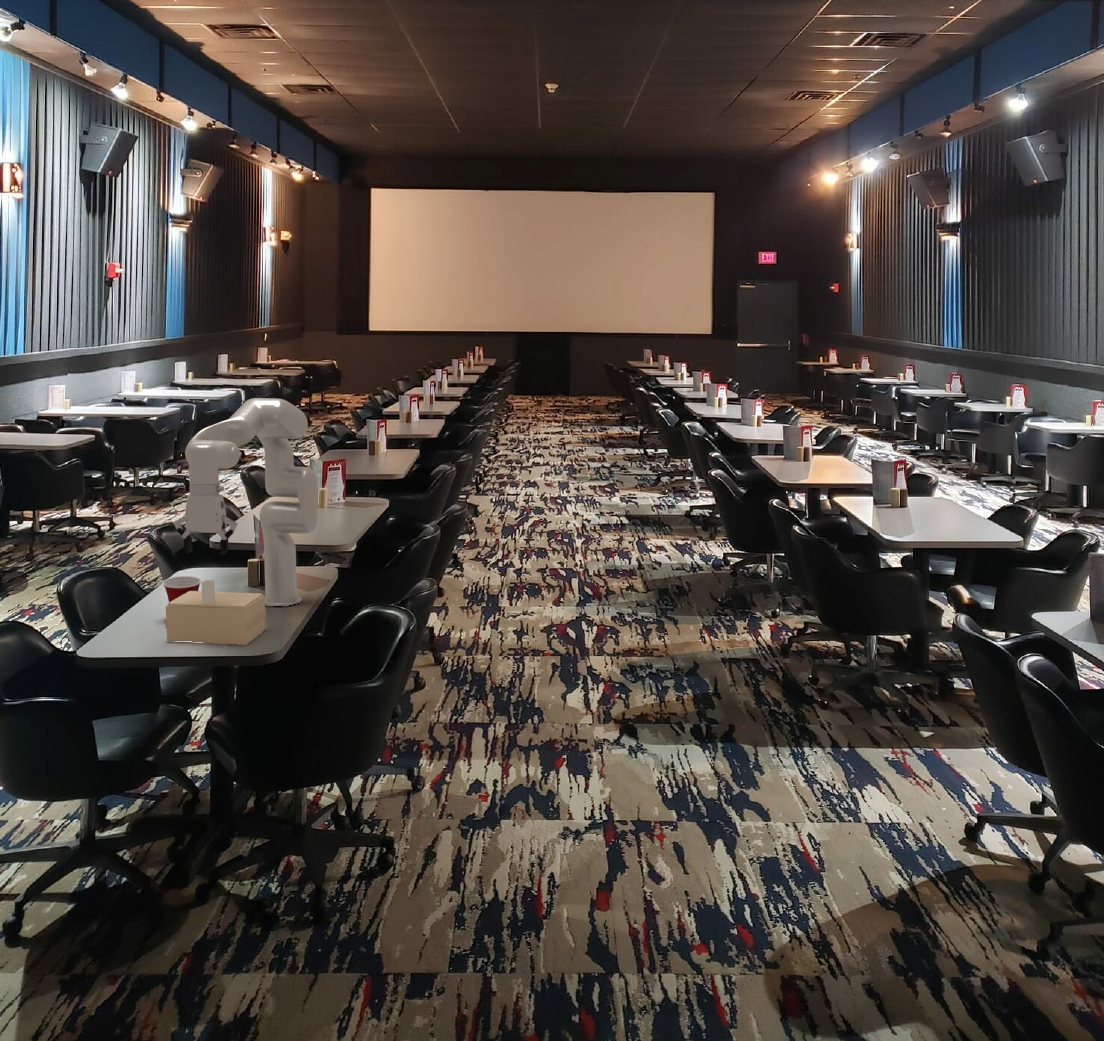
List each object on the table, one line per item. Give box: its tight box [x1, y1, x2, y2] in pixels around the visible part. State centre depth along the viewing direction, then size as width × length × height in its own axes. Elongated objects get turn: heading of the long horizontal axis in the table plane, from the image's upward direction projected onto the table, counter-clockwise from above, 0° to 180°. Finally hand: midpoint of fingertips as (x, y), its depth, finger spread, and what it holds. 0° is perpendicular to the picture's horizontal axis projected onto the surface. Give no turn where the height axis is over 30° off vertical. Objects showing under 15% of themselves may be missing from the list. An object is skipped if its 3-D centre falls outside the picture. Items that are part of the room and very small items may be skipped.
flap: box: [167, 579, 264, 608], centre depth 323 cm, size 15×21×7 cm
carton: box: [164, 594, 267, 646], centre depth 325 cm, size 16×22×10 cm
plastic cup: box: [161, 575, 202, 603], centre depth 341 cm, size 11×11×12 cm
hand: (206, 553), depth 316 cm, fingers open, 9 cm apart
